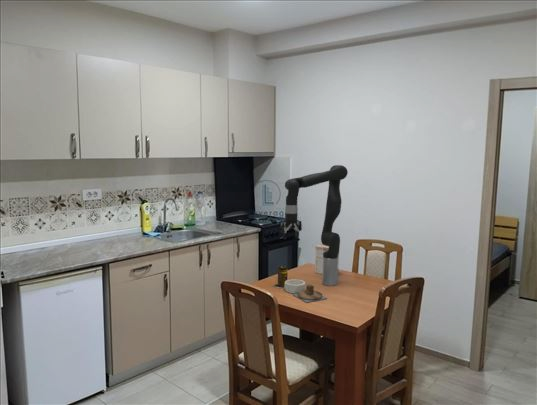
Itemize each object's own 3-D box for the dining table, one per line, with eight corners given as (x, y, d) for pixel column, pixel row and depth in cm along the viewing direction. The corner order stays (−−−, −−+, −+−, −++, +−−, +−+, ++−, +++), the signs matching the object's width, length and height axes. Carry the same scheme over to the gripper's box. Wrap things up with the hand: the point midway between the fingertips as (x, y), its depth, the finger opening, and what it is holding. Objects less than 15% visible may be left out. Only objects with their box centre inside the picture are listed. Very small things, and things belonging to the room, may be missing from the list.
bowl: (297, 286, 263) (297, 278, 263) (308, 291, 253) (309, 283, 252) (281, 289, 257) (281, 281, 257) (292, 294, 247) (292, 286, 246)
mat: (312, 291, 253) (312, 290, 253) (327, 299, 241) (327, 297, 241) (293, 295, 246) (293, 294, 246) (306, 303, 234) (306, 301, 234)
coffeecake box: (338, 274, 289) (339, 246, 287) (333, 277, 284) (334, 248, 281) (319, 270, 298) (320, 243, 296) (314, 272, 293) (315, 245, 291)
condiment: (290, 286, 262) (290, 267, 261) (278, 288, 258) (279, 269, 256) (283, 283, 268) (283, 265, 267) (272, 285, 264) (272, 266, 262)
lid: (312, 290, 253) (313, 280, 252) (327, 297, 241) (327, 287, 240) (293, 294, 246) (293, 284, 245) (306, 301, 234) (306, 290, 233)
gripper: (297, 210, 265) (296, 236, 267) (278, 212, 258) (277, 238, 260) (304, 212, 259) (303, 238, 261) (284, 213, 251) (284, 240, 253)
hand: (290, 238), depth 260 cm, fingers open, 8 cm apart
